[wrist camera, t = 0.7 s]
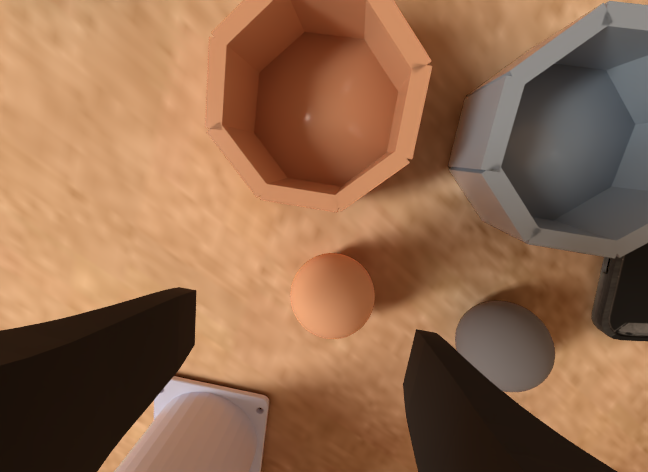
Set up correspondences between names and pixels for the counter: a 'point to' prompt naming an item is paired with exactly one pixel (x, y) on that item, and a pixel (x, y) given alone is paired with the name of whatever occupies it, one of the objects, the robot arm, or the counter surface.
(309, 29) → the terracotta octagonal bowl
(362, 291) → the terracotta ball
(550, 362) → the charcoal ball
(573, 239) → the slate cup
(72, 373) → the robot arm
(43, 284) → the counter surface
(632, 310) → the phone
